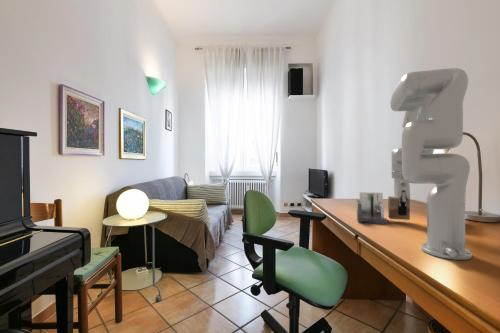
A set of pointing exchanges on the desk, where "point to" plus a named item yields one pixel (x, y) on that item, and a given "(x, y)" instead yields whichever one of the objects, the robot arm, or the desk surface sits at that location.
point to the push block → (393, 208)
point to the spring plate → (380, 210)
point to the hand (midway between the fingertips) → (401, 213)
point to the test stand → (369, 208)
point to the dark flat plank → (372, 207)
